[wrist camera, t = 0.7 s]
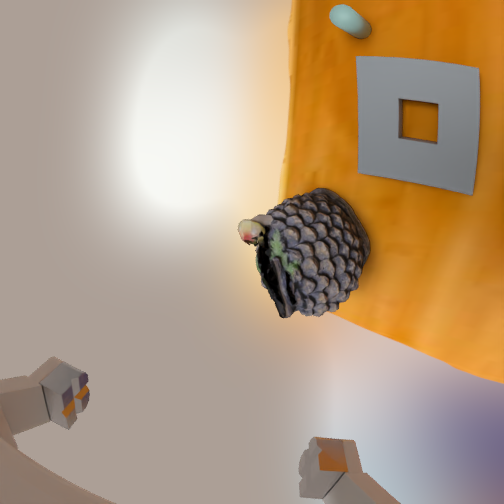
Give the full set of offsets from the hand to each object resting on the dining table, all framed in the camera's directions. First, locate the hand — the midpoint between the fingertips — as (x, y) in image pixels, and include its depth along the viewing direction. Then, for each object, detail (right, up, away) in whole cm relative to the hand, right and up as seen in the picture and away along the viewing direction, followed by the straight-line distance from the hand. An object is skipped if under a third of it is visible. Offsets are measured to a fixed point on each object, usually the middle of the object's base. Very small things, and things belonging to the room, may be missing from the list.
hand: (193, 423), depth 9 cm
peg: (+20, +44, +30) cm, 57 cm away
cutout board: (+29, +27, +32) cm, 51 cm away
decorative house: (+19, +10, +51) cm, 56 cm away
